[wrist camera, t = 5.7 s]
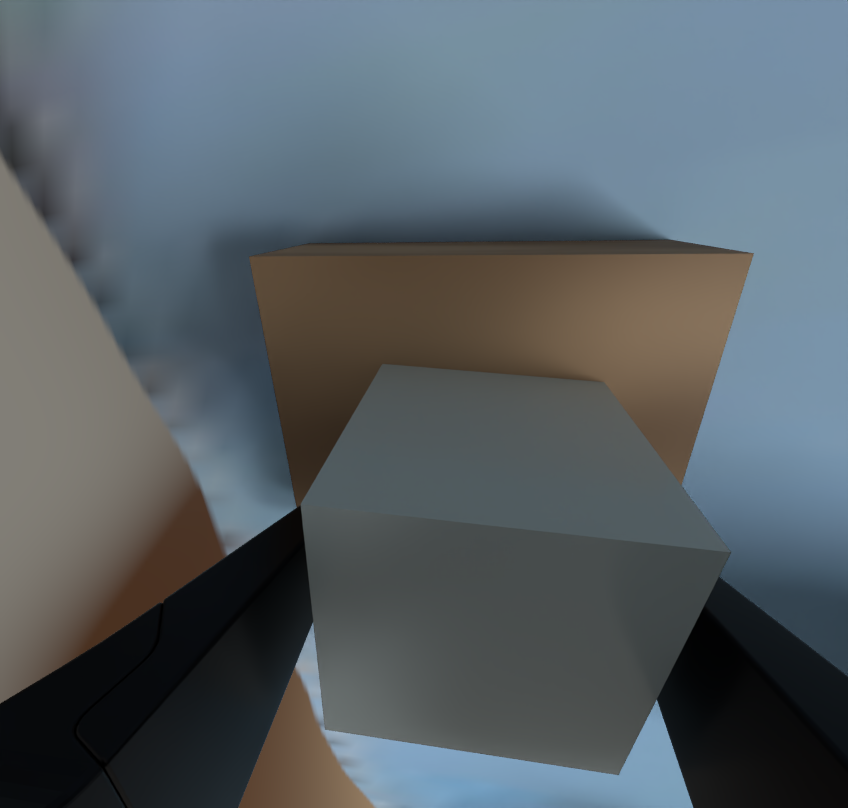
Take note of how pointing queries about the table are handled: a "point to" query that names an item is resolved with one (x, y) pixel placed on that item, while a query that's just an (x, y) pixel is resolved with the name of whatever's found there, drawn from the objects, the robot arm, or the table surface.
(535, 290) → the tan block
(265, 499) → the table surface
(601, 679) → the gray cube
